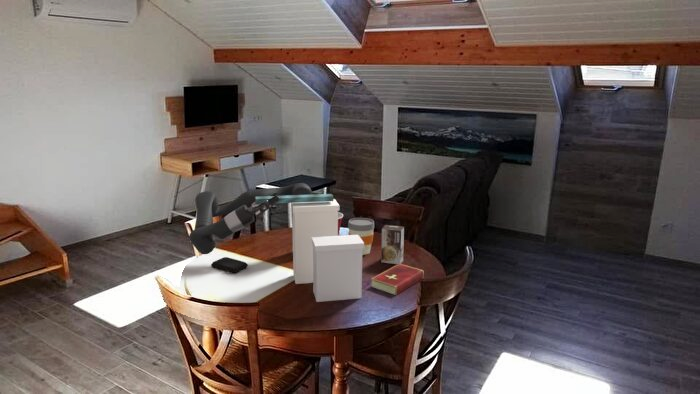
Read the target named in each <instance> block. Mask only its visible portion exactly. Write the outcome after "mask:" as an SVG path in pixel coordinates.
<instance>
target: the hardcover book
mask: <svg viewBox="0 0 700 394" xmlns="http://www.w3.org/2000/svg"><path fill="white" fill-rule="evenodd" d="M424 276H425V272H424V270H423V269H420V268H417V267H413V266H409V265H407V264H403V263H401V264H400V263H399V264H395V265H394V266H392V267H390V268H388V269H387V270H384V271H383V272H381V273H379V274H377V275H375V276H373V277H372V278H370V281H371V287H372V288H375V289H377V290H380V291H382V292H386V293H388V294H392V295H394V296H398V295H399V294H400V293H402V292H403V291H405V290H407V289H408V288H410V287H412V286H413V285H415V284H417V283H418V282H419V281H421V280H423V279H424Z"/></svg>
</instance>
